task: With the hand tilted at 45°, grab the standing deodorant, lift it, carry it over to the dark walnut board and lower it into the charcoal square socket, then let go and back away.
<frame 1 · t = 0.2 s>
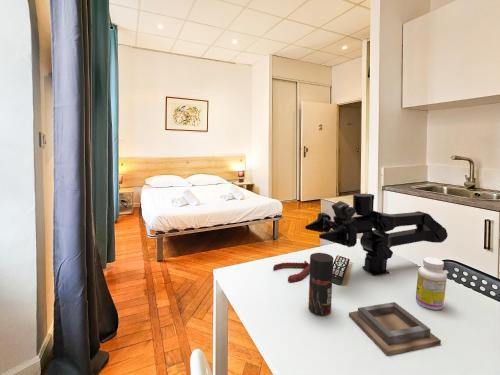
hand: (312, 231, 87), 17 cm above the table, tool horizontal, fingers open, 9 cm apart
deodorant: (319, 309, 74), on the table
supplement bottle: (428, 304, 77), on the table
pliers: (304, 274, 96), on the table
socket board: (391, 329, 66), on the table
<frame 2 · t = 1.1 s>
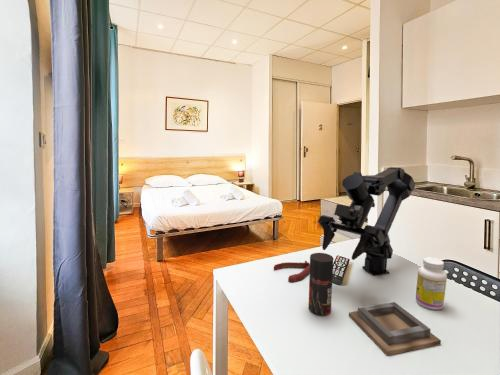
hand: (337, 254, 78), 14 cm above the table, tool tilted 45°, fingers open, 9 cm apart
nothing on the table moved.
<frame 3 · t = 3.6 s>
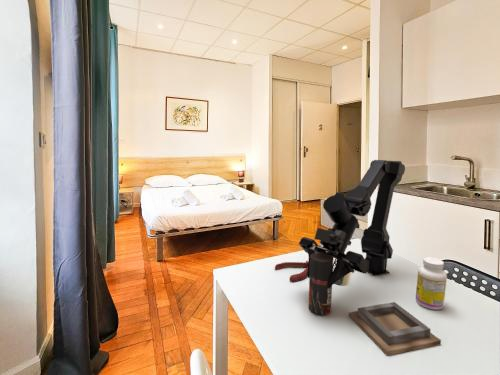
hand: (317, 281, 72), 9 cm above the table, tool tilted 45°, fingers closed on deodorant, 6 cm apart
deodorant: (319, 309, 74), on the table, touching gripper
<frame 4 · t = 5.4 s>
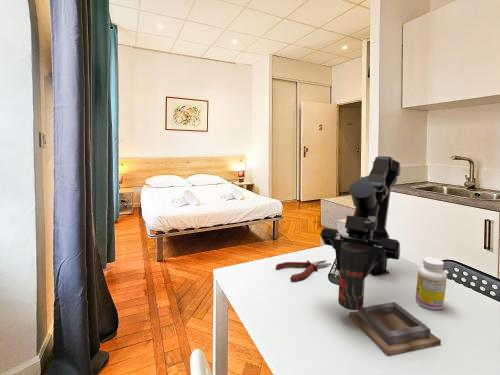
hand: (350, 273, 67), 13 cm above the table, tool tilted 45°, fingers closed on deodorant, 6 cm apart
deodorant: (350, 303, 69), point 4 cm above the table, touching gripper
when the fingers open (11 cm above the table, at t = 7.1 s): deodorant drops 1 cm, resting on socket board.
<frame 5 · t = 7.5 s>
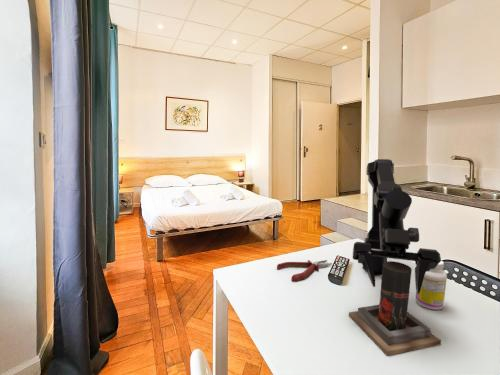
hand: (395, 289, 63), 11 cm above the table, tool tilted 45°, fingers open, 9 cm apart
deodorant: (391, 325, 66), point 1 cm above the table, touching socket board
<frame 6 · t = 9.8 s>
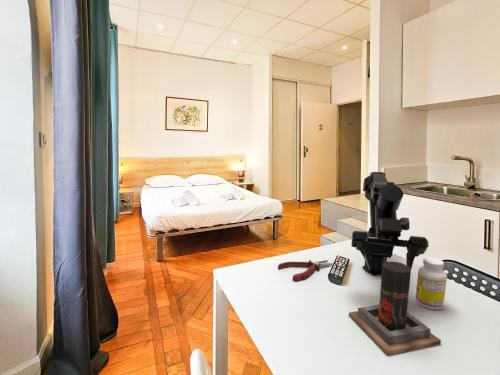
hand: (389, 271, 72), 11 cm above the table, tool tilted 45°, fingers open, 9 cm apart
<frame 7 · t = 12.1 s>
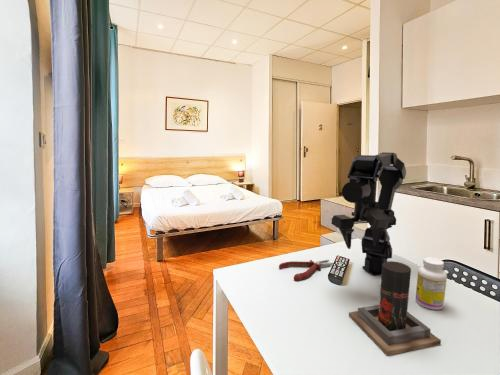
hand: (362, 247, 84), 13 cm above the table, tool pointing down, fingers open, 9 cm apart
at the end: deodorant 0.2 cm off-centre on the socket board, point 0.8 cm above the socket board's base; deodorant tilted 0°; the gripper is holding nothing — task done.
